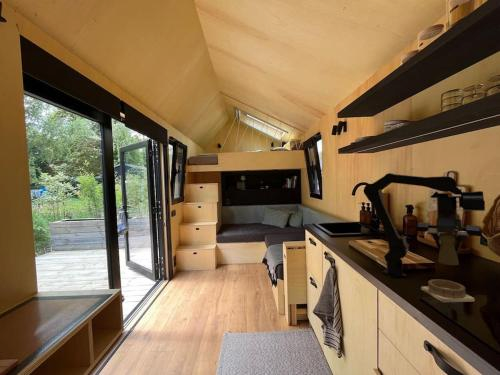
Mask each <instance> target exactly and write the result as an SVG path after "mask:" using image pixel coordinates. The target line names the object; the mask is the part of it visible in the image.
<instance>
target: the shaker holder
mask: <svg viewBox="0 0 500 375" xmlns="http://www.w3.org/2000/svg"><path fill="white" fill-rule="evenodd" d="M427 283H428V284H427V285H428V286H424V285H423V286H421V288H420V290H422V291H423V292H425V293H427V294H428V295H430V296H431V297H433V298H435V299H436V300H438V301H440V302H441V303H466V302H468V303H469V302H470V303H471V302H475V297H473V296H471V295H469V294H467V292H466V291H467V290H466V287H465V285H463V284H461V283H459V282H455V281H453V280H448V279H439V278H437V279H436V278H435V279H434V278H433V279H432V278H431V279H430V280H428V282H427Z"/></svg>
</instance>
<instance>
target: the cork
mask: <svg viewBox="0 0 500 375" xmlns="http://www.w3.org/2000/svg"><path fill="white" fill-rule="evenodd" d="M439 240H440V243H441V245H440V251H439V252H438V259H437V260H438V263H439V264H442V265H446V266H447V265H448V266H459V265H460V263H459V257H458V252H457V253H456V250H455V247H456V240H457V235H456V234H454V233H446V232H442V233H439Z"/></svg>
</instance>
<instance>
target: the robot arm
mask: <svg viewBox="0 0 500 375" xmlns="http://www.w3.org/2000/svg"><path fill="white" fill-rule="evenodd" d="M391 184H400V185H408V186H418V187H419V186H420V187H425V188H428V189H432V190H435V191H434V193H433V194H432V195H430V198H431V199H436V208H437V209H436V210H437V211H436V212H437V213H436V214H437V215H436V216H437V217H436V224H434V225H433V224H431V222H418V223H417V224H416V225H415V226H416V230H415V231H416V232H422V233H423V232H425V233H426V232H427V234H428V235H431V237H432V238H433V239H434V242H435V244H436V247H437V248H438V249H437V250H438V251H439V252H440V245H441V241H440V240H439V235H440V234H441V233H452V234H454V233H455V232H456V233H457V235H456V237H457V240H456V242H455V246H456V247H455V250H456V253H457V254H458V251H459V249H460V246H461V243H462V241H463V240H464V238H469V236H471V237H482V235H483V234H482V233H483V232H482V230H483V229H482V227H481V226H480V225H472V224H471V225H470V224H466V227H465V226H462V219H460V218H459V219H458V213H457V212H458V211H457V210H458V208H461V209H462V211H469V212H470V211H474V212H481V211H483V212H485V210H486V203H485V202H486V201H485V199H484V198H485V197H484V192H483V191H482V190H481V191H480V190H479V191H478V190H477V191H462V189H460V188H459V187H458V186H457V181H456V180H455V179H454V177H452V176H448V175H447V176H445V175H444V176H443V175H442V176H428V177H427V176H425V177H424V176H417V175H406V174H405V175H404V174H395V173H391V172H389V173H386V174H384V176H382V177H380V178H379V179H377V180H376V181H375V182H372V183H368V184H366V185H365V186H364V188H363V193H364V196H365V197H366V198H367V199H368V201H369V202H370V204H371V205H372V206H373V207H374V210H375V213H376V215H377V218H378V219H379V221H380V223H381V226H382V227H383V230H384V232H385V235H386V238H387V243H388V244H387V246H388V248H389V250H388V251H387V252H386V253H385V255H384V256H383V257H384V260H385V262H386V263H385V265H386V270H383V271H382V273H384V274H386V275H387V276H389V277H390V278H401V277H407V276H408V275H407V274H405V273H403V272H404V270H403V269H404V268H403V267H404V265H403V260H402V259H404V258H405V257H406V255H407V253H408V252H409V247H410V244H408V242H407V238H406V236H401V235H400V234H399V233H398V231H397V229H396V226H395V224H394V221H393V219H392V217H391V215H390V212H389V211H388V209H387V206H386V204H385V201H384V196H383V195H384V194H383V190H384V189H386V188H387V187H388V186H390V185H391ZM438 191H440V192H442V193H440V192H438ZM449 193H451V194H453V195H449ZM457 200H458V201H457ZM457 202H458V203H457ZM457 204H458V208H457Z"/></svg>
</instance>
